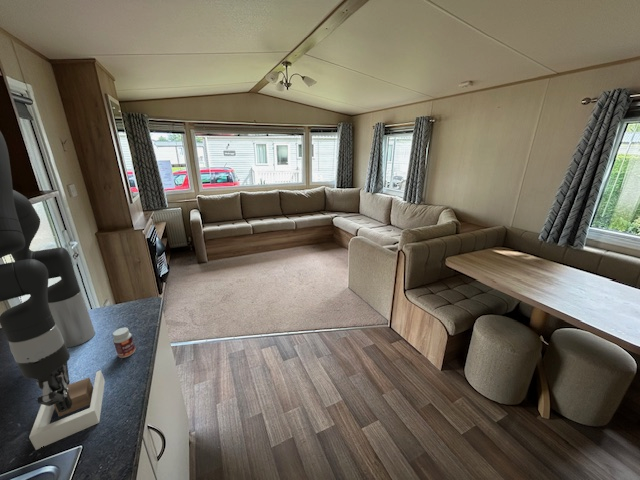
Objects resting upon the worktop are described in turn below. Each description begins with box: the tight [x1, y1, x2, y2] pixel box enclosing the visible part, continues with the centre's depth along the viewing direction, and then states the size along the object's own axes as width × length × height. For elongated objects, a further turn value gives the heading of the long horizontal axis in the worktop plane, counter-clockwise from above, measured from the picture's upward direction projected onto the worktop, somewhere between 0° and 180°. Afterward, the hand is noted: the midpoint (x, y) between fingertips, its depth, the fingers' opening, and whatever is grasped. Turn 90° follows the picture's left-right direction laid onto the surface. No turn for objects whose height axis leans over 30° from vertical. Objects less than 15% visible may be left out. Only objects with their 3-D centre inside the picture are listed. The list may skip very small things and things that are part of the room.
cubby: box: [29, 369, 106, 451], centre depth 66 cm, size 14×11×4 cm
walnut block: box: [54, 377, 94, 418], centre depth 69 cm, size 6×6×4 cm
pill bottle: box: [112, 327, 136, 359], centre depth 84 cm, size 5×5×8 cm
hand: (66, 408), depth 63 cm, fingers closed
